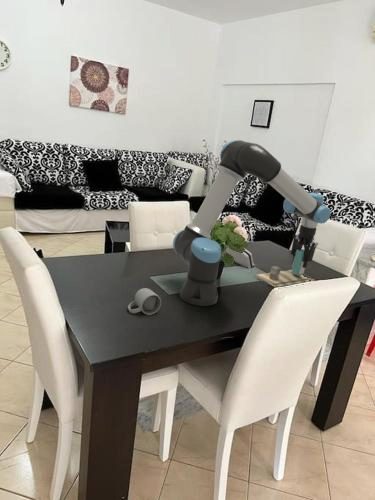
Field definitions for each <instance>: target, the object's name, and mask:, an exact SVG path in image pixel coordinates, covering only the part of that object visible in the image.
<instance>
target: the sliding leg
mask: <svg viewBox="0 0 375 500" xmlns="http://www.w3.org/2000/svg"><path fill="white" fill-rule="evenodd" d="M302 260H304V249H303V248H302V249H300V250H297V251H296V255H295V259H294V263H293V262H292V266H293V267H292V266H291V270H292V271H291V273H293V274H295V275H297V276H298V275H303V274H304V273H302V274H299V270H300V266H301V262H302Z"/></svg>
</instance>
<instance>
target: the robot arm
mask: <svg viewBox="0 0 375 500" xmlns="http://www.w3.org/2000/svg"><path fill="white" fill-rule="evenodd" d="M219 155H220V158H219V159H220V162H219V164H218V171H219V172H218V174H217V176H216V178H215V180H213V181H214V182H213V183H212V185H211V187H210V189H209V190H208V192H207V194H206V196H205V198H204V200H202V201H203V202H202V204H201V205H200V207H199V209H198V211H197V213H196V214H195V216H194V218H193V220H192V222H191V223H188V224H186V225H185V226H184V229H182V230H179V231H178V232H177V233H176V234H175V236H174V237H173V242H172V247H173V250H174V252H175V253H176V255H177V256H178V257H179V258H180V260H183V262H185V264H187V266H188V267H187V268H188V269H187V275H186V278H185V281H184V283H183V284H182V287H181V288H180V291H179V292H180V293H179V296H180V299H181V300H183V301H184V302H185V303H187V304H190V305H193V306H198V307H210V306H213V305H215V304H217V302H218V296H219V293H218V287H217V278H218V272H219V268H220V261H221V257H222V247H221V245H220V243H218V241H215V240H214V239H212V237H211V231H212V230H213V228H214V227H215V225H216V223H217V221H218V219H219V217H220V215H221V214H222V212H223V210H224V208H225V206H226V204H227V203H228V201H229V198H230V197H231V195H232V193H233V192H234V190H235V187H236V186H237V184H238V183H239V182H241V181H243V180H245V178H246V176H247V175H250V176H253V177H255V178H257V179H259V180H260V181H261V182H262V183H264V184H269V185H270V186H271V187H272V188H273V189H274V190H276V191H277V192H278V193H279V194H280V195H281V196H282V197H283V198H285V199H284V201H283V205H282V206H283V211H284V212H286V213H287V214H295V215H297V216H301V217H302V218H301V221H300V224H301V225H299V228H298V229H299V231H298V232H299V233H298V234H293V235H292V237H293V239H292V240H293V241H292V245H291V250H290V255H292V256H293V258H292V261H291V262H292V264H293V263H294V259H295V255H296V251H297V250H300V249H303V248H304V249H303V250H304V260H302V262H301V266H300V270H299V274H302V273H303V274H305V269H306V268H307V267H308V263H310V262H313V258H314V255H315V252H316V248H317V246H318V245H319V244H318V242H316V241H315V235H316V233H317V227H318V224H325V223H326V222H328V220H329V219H330V217H331V210H330V208H329V207H328V206H325V204H324V201H325V196H324V195H323V194H321V193H320V194H319V193H315V192H308V191H307V190H305V188H304V187H302V186H301V185H300V184H299V183H298V182H297V181H296V180H295V179H294V177H292V176H291V175H290V174H288V172H286V171H285V170H284V169H283V168H282V163H281V162H280V161H279V160H278V159H277V158H276V157H275V156H273V155H272V154H271V153H270V151H268V150H267V149H265V148H264V147H263V146H262V145H260V144H258V143H254V142H248V141H244V140H241V139H237V140H230V141H228V142H227V143H225V144H224V145H223V147H222V148H221V149H220V154H219ZM292 267H293V265H292V266H291V268H292Z"/></svg>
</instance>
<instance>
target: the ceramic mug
mask: <svg viewBox="0 0 375 500" xmlns="http://www.w3.org/2000/svg"><path fill="white" fill-rule="evenodd" d="M135 305H137V308H133V309H132V307H133V306H135ZM161 306H162V300H161V297H160V296H159V295H158V294H157V293H155V292H154V291H153V290H152V289H150V288H148V287H147V288H146V287H143V288H140V289H138V290H137V292H136V293H135V295H134V300H132V301H131V302H130V303H129V304H128V305H127V310H128V311H129V313H131V314H136V313H139V312H142V313H143V314H145V315H148V316H151V315H154V314H155V313H158V311H159V310H160V308H161Z"/></svg>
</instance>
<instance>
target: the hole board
mask: <svg viewBox="0 0 375 500" xmlns="http://www.w3.org/2000/svg"><path fill="white" fill-rule="evenodd" d="M291 271H292V269H288V270H287V269H286V270H282V269H281V267H279V266H277V265H274V266H271V269H270V272H265V273H264V272H263V273H257V274H254V275H253V277H254V276H255V277H257V278H259V279H261V280H263V281H265V282H267V283H268V284H270V285H272V286H274V287H276V286H277V287H281V286H287V285H292V284H297V283H302V282H304V281H305V282H309V280H311V281H315V282H316V279H315V278H312V277H310V278H307V277H304V276H303V275H298V276H297V275H295V274H293V273H291ZM255 277H254V278H255ZM311 278H312V279H311Z"/></svg>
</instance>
